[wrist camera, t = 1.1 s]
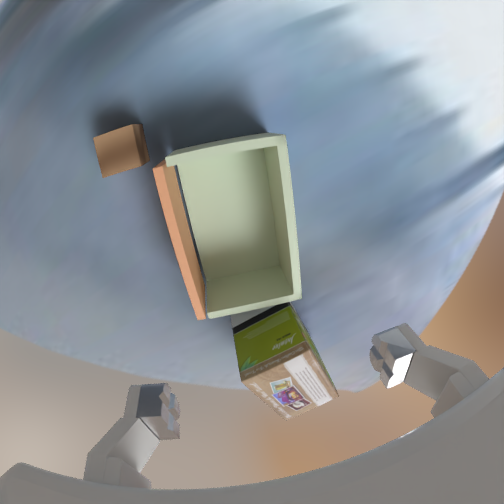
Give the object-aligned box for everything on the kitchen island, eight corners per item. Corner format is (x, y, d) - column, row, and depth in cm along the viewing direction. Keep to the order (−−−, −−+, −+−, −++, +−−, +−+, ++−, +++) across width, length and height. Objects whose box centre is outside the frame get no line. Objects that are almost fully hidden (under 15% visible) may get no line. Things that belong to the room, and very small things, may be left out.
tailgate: (162, 159, 31) (149, 169, 24) (172, 157, 31) (162, 166, 24) (196, 287, 39) (195, 320, 33) (205, 285, 39) (205, 318, 33)
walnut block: (107, 135, 30) (93, 137, 25) (142, 124, 30) (132, 124, 26) (115, 170, 32) (102, 178, 28) (150, 160, 32) (141, 166, 28)
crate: (175, 150, 32) (164, 157, 25) (267, 132, 33) (285, 134, 25) (207, 283, 41) (209, 318, 34) (285, 266, 42) (301, 298, 35)
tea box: (313, 338, 50) (341, 398, 37) (267, 361, 51) (284, 423, 38) (282, 284, 44) (311, 351, 30) (227, 313, 45) (238, 384, 31)
